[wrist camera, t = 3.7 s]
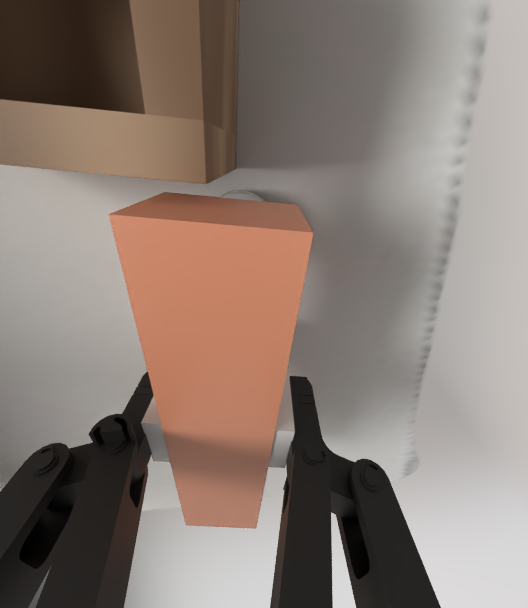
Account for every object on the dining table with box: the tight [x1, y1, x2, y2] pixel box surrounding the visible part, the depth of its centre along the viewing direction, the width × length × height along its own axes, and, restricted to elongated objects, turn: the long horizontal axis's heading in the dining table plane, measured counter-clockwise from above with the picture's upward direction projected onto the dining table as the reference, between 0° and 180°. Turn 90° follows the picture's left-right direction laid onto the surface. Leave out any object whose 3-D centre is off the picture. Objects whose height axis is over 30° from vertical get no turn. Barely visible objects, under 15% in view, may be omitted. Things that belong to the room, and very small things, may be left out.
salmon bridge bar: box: [109, 190, 314, 528], centre depth 12 cm, size 17×4×7 cm, turn 175°
